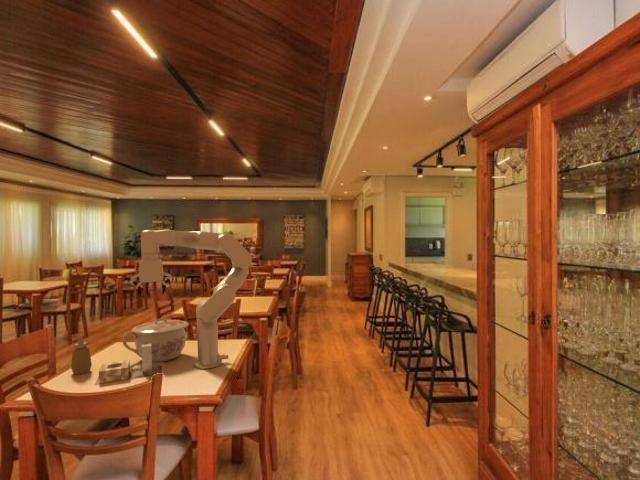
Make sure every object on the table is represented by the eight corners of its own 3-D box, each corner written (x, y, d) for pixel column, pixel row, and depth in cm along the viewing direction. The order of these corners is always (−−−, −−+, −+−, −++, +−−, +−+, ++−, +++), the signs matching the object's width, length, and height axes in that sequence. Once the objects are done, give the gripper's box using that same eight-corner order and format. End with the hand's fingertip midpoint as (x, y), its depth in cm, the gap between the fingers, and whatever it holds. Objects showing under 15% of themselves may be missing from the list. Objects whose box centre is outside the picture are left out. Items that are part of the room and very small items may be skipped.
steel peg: (152, 369, 176) (151, 343, 176) (152, 372, 172) (151, 345, 172) (142, 370, 174) (142, 344, 174) (142, 373, 171) (141, 346, 170)
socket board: (161, 367, 181) (161, 355, 181) (161, 376, 170) (161, 363, 169) (99, 376, 171) (98, 363, 171) (94, 387, 159) (94, 373, 159)
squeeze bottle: (88, 370, 181) (86, 332, 181) (94, 373, 176) (93, 335, 175) (68, 375, 175) (67, 336, 174) (75, 379, 169) (73, 338, 169)
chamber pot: (198, 350, 208) (197, 312, 208) (174, 367, 181) (173, 324, 180) (150, 350, 211) (148, 313, 210) (119, 367, 183) (117, 324, 183)
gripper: (170, 256, 180) (171, 291, 181) (130, 257, 174) (131, 294, 174) (171, 256, 174) (172, 293, 174) (129, 258, 167) (130, 297, 167)
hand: (151, 294), depth 174 cm, fingers open, 9 cm apart
